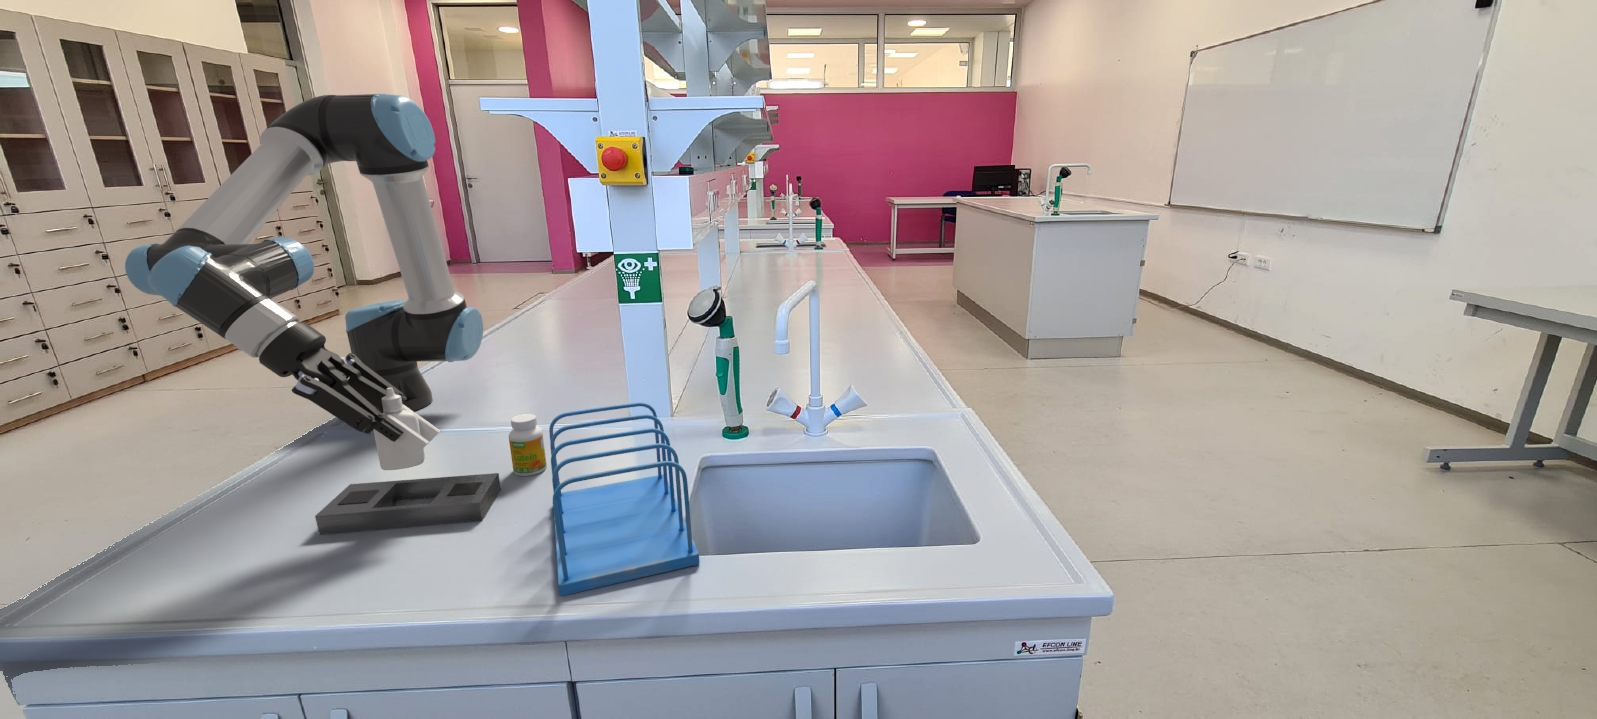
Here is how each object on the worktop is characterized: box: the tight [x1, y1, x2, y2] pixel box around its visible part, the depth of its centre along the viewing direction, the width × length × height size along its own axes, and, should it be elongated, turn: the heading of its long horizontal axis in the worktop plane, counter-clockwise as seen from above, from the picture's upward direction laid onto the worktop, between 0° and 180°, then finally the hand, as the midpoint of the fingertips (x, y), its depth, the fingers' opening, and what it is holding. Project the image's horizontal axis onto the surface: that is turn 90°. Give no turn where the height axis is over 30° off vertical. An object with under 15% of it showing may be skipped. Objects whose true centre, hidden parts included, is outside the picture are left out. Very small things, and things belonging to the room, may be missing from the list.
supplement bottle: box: [508, 413, 547, 477], centre depth 111 cm, size 5×5×10 cm
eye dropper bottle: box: [373, 388, 426, 471], centre depth 95 cm, size 4×6×12 cm
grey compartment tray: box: [314, 472, 502, 536], centre depth 99 cm, size 10×22×3 cm, turn 99°
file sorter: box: [548, 401, 701, 597], centre depth 91 cm, size 25×17×15 cm
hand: (427, 443), depth 96 cm, fingers closed on eye dropper bottle, 4 cm apart
